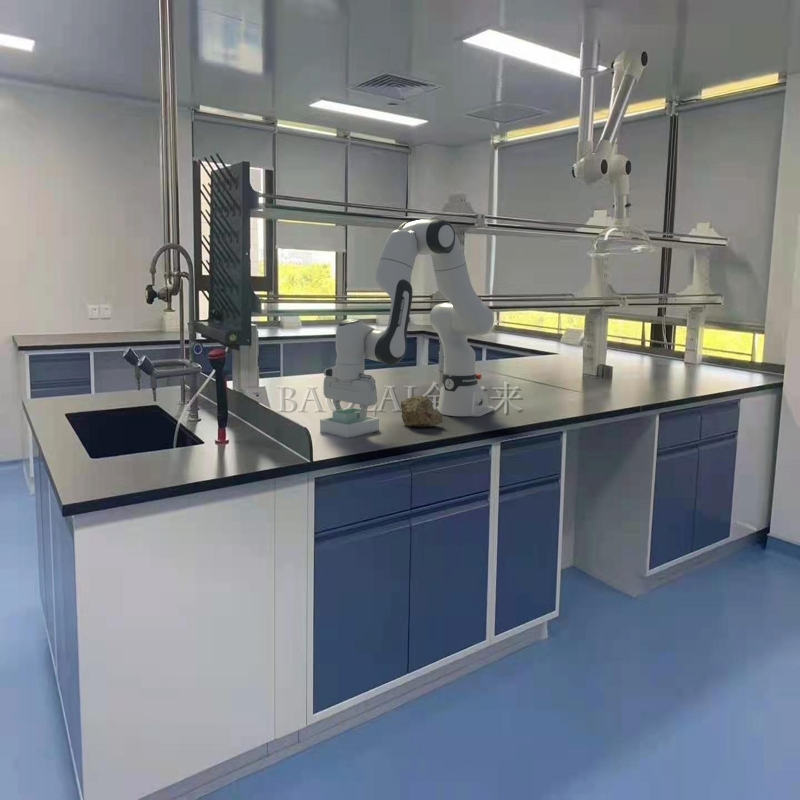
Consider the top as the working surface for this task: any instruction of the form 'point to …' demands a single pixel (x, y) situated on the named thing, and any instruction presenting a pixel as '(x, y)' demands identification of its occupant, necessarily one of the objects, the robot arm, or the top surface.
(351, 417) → the box
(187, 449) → the top surface
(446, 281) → the robot arm
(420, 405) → the rock
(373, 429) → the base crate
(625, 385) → the top surface
